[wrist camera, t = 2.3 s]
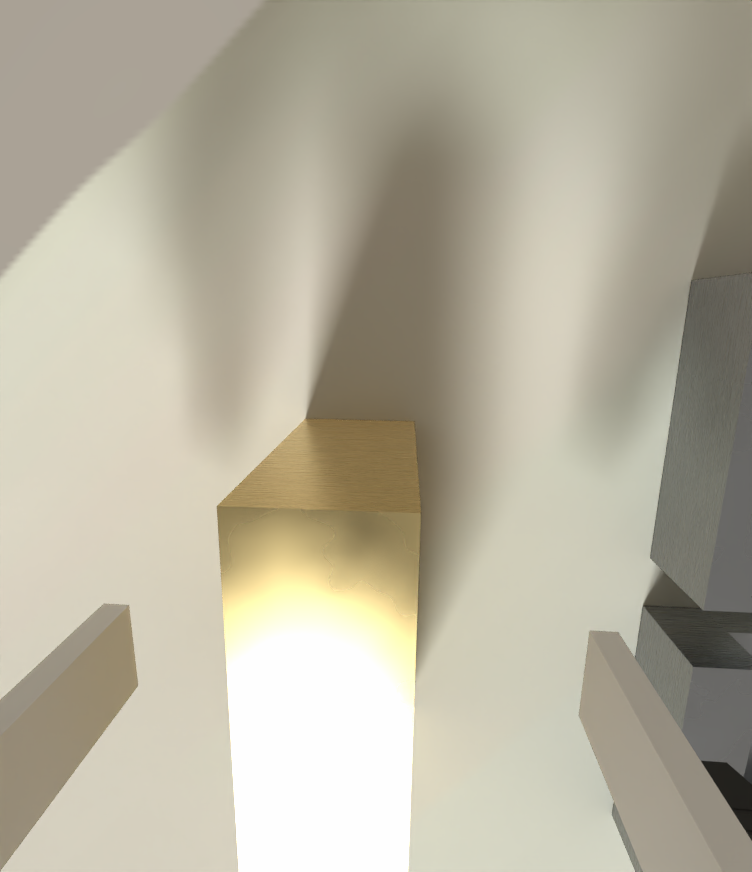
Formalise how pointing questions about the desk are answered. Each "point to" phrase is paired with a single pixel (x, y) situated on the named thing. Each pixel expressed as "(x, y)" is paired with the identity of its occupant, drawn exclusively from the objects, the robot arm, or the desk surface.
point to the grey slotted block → (707, 535)
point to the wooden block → (323, 647)
